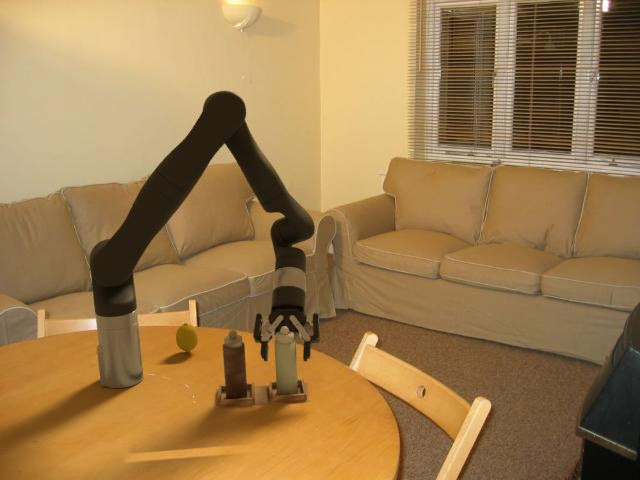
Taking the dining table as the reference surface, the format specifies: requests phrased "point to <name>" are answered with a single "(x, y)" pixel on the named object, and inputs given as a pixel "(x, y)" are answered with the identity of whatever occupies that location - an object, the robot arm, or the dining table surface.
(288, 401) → the cruet stand
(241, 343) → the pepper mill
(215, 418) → the dining table surface
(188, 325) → the lemon
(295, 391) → the salt mill
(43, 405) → the dining table surface
